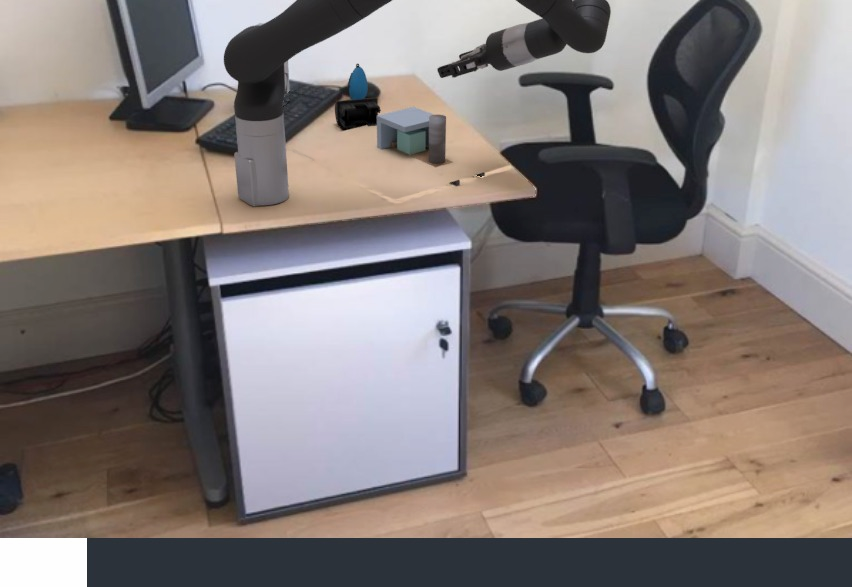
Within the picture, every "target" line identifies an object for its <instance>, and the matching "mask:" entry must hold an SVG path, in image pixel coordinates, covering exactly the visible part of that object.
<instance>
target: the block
mask: <svg viewBox="0 0 852 587" xmlns="http://www.w3.org/2000/svg"><path fill="white" fill-rule="evenodd" d="M425 137H426V131H424V130H422V129H417V130H413V131H409V132H405V133H404V132H402V131H400V130H397V149H398V150H400V151H402V152H401V153H403V152H404V153H403V154H405V153H407V154H409V155H411V154H414V153H418V152H422V151H425V150H426V147H425ZM398 150H397V151H398ZM400 151H399V152H400ZM407 154H406V155H407ZM409 155H408V156H409Z"/></svg>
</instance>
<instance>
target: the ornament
mask: <svg viewBox="0 0 852 587" xmlns="http://www.w3.org/2000/svg"><path fill="white" fill-rule="evenodd" d="M368 87H369V86H368V79H367V76H366V72H365V70H364V68H363V67H361V66H360V64H359V63H356V64H355V67H354V69H353V70H352V72H351V73H350V76H349V78H348V84H347V94H348V95H349V98H350V100H354V99H366V97H367V94H368V91H369V90H368Z"/></svg>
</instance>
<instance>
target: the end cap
mask: <svg viewBox="0 0 852 587" xmlns="http://www.w3.org/2000/svg"><path fill="white" fill-rule="evenodd" d="M378 101H379V100H378V98H377V97H367V98H366V97H365V98H364V99H354V100H352V99H344V100H336V101H335V103H334V116H335V121H336V124H337V126H338V127H339V128H340V131H342V132H345V131H348V130H353V129H357V128H360V127H361V128H362V127H366V126H367V127H374V126H375V127H377V115H379V114H381V107H380V106H379V104H378V103H379V102H378Z"/></svg>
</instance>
